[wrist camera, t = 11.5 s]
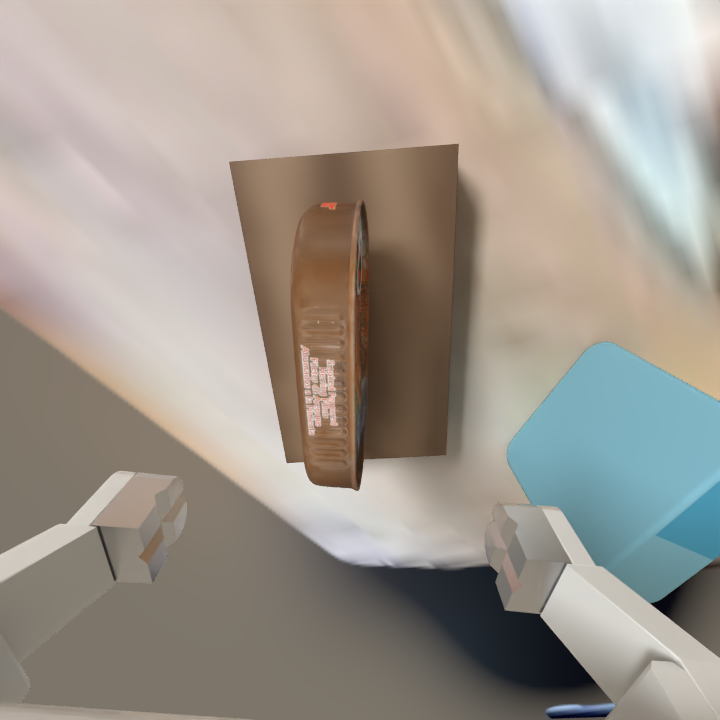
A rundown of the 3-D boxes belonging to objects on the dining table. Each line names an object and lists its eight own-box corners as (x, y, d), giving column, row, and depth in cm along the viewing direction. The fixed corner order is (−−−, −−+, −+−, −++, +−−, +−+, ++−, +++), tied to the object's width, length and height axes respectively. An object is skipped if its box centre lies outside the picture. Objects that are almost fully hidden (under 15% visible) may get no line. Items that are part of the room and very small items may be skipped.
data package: (542, 470, 31) (641, 616, 20) (500, 451, 30) (579, 593, 19) (643, 359, 26) (842, 468, 16) (597, 334, 26) (772, 430, 15)
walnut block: (442, 154, 22) (458, 143, 18) (435, 424, 30) (445, 455, 26) (251, 168, 22) (229, 161, 18) (295, 431, 30) (286, 462, 27)
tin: (367, 430, 25) (367, 528, 18) (323, 429, 25) (305, 528, 18) (370, 201, 19) (373, 198, 11) (313, 200, 19) (277, 198, 11)
